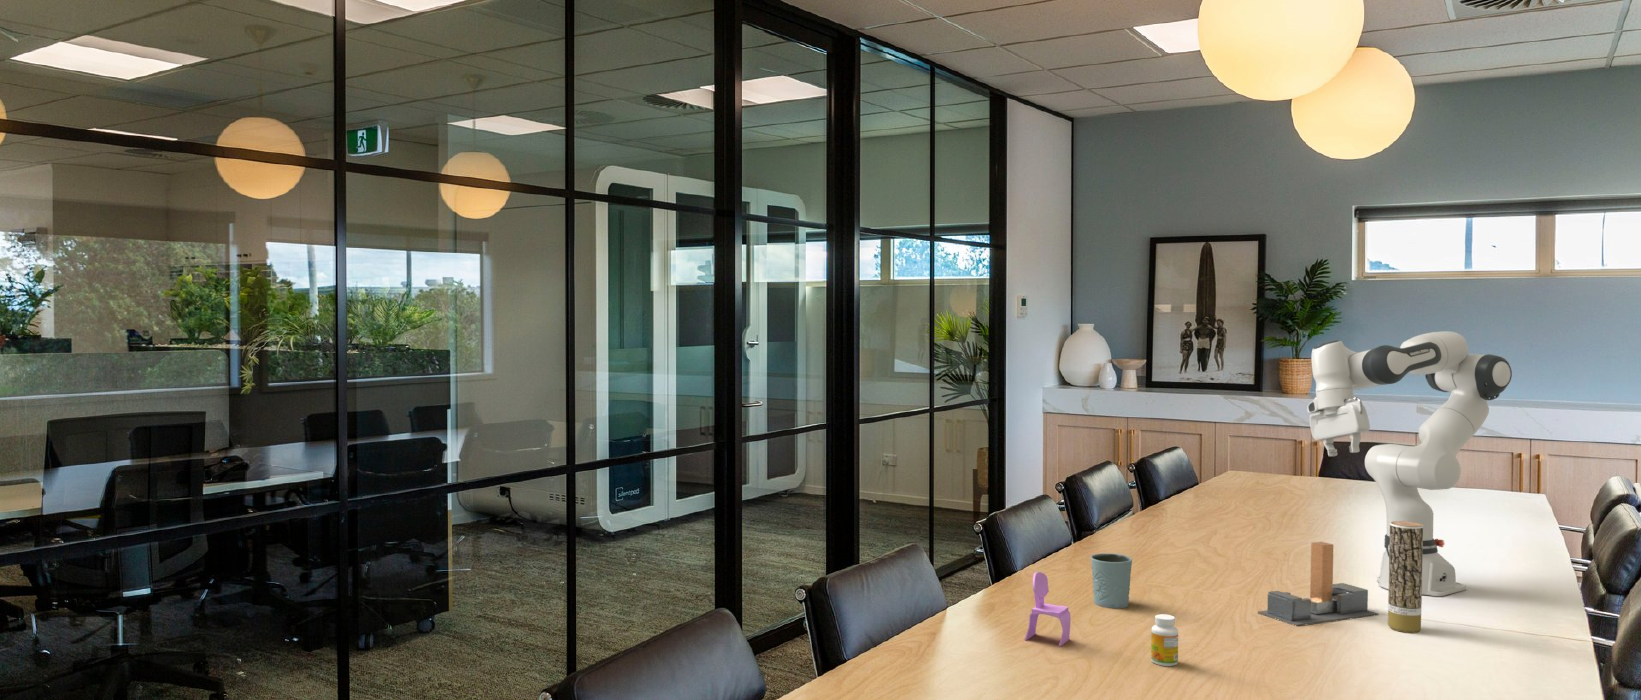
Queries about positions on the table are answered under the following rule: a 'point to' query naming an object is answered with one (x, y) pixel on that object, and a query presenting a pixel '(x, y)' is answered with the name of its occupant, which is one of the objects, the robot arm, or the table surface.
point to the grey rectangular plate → (1323, 617)
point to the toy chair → (1047, 609)
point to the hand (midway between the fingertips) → (1343, 454)
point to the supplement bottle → (1164, 641)
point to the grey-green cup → (1111, 579)
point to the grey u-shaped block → (1350, 598)
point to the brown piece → (1322, 579)
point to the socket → (1288, 606)
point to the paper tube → (1405, 576)
